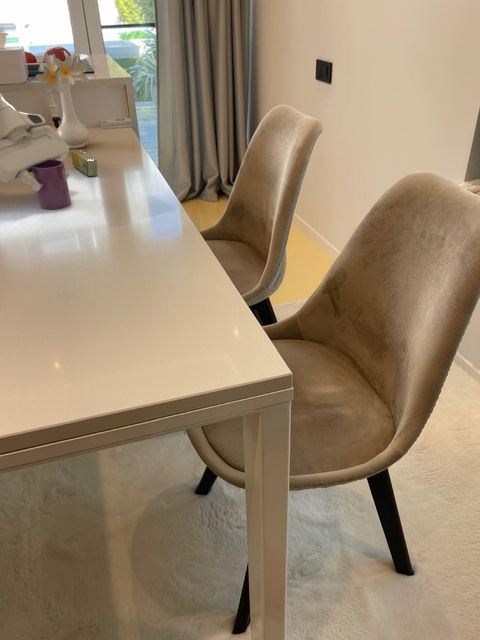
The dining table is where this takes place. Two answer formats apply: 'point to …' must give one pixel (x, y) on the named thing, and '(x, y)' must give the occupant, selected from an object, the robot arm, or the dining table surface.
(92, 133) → the dining table surface
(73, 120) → the flower vase
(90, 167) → the medication box
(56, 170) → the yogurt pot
